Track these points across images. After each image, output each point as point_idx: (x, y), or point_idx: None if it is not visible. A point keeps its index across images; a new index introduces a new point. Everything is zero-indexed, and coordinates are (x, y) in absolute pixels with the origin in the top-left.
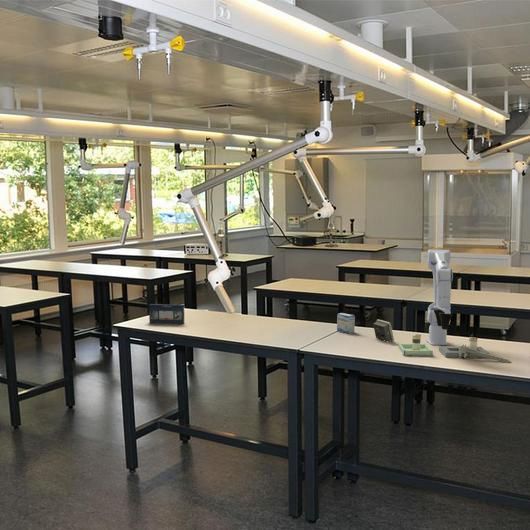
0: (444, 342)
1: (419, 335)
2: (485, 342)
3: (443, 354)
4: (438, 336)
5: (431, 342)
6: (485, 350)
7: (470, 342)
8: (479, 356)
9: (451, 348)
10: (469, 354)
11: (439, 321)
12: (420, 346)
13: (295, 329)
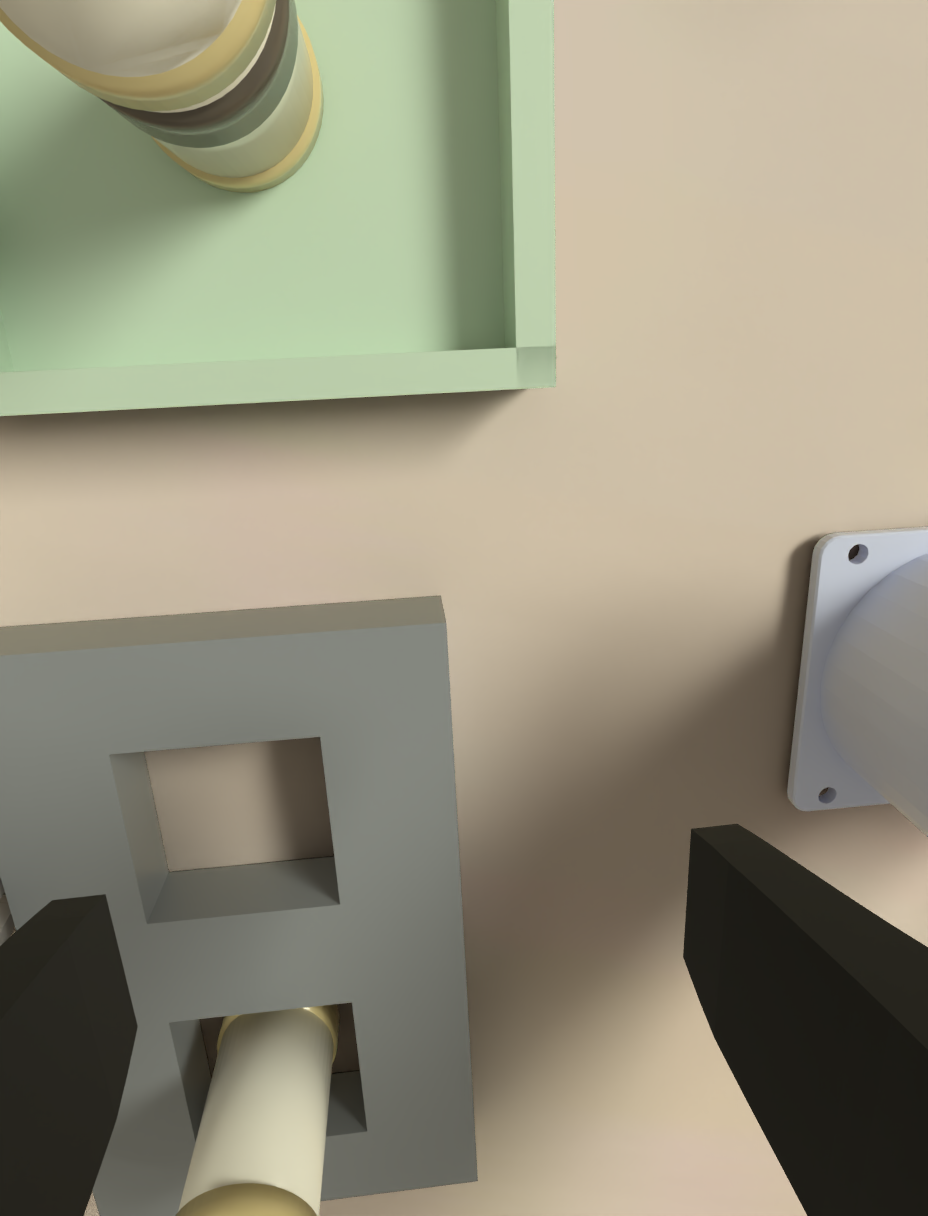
0: (848, 762)
1: (37, 12)
2: None
3: (114, 623)
4: (909, 713)
5: (919, 557)
6: None
7: (208, 1168)
8: None
9: (329, 804)
10: None
11: (775, 994)
12: (505, 255)
13: None
